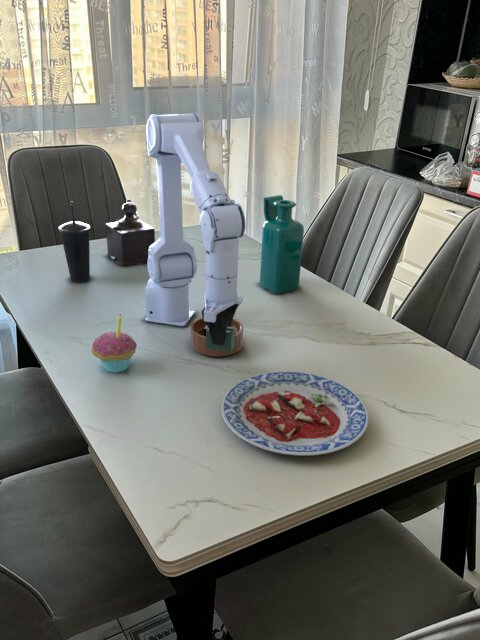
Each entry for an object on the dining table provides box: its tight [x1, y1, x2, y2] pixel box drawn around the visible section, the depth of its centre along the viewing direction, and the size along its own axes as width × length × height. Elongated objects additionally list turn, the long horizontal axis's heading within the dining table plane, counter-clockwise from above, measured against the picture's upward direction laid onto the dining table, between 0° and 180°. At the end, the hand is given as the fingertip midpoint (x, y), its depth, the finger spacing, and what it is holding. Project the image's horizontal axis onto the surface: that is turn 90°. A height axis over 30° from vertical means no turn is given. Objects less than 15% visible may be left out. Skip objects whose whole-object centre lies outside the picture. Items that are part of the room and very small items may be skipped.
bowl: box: [190, 317, 244, 358], centre depth 128 cm, size 11×11×4 cm
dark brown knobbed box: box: [105, 198, 156, 267], centre depth 165 cm, size 16×11×18 cm
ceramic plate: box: [220, 371, 370, 457], centre depth 106 cm, size 26×26×3 cm
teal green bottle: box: [259, 194, 305, 294], centre depth 152 cm, size 10×8×22 cm
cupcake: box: [91, 313, 137, 373], centre depth 117 cm, size 9×8×12 cm
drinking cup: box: [58, 200, 91, 284], centre depth 152 cm, size 8×8×20 cm
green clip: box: [206, 327, 235, 352], centre depth 115 cm, size 5×2×4 cm, turn 75°
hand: (220, 340), depth 116 cm, fingers closed on green clip, 2 cm apart
